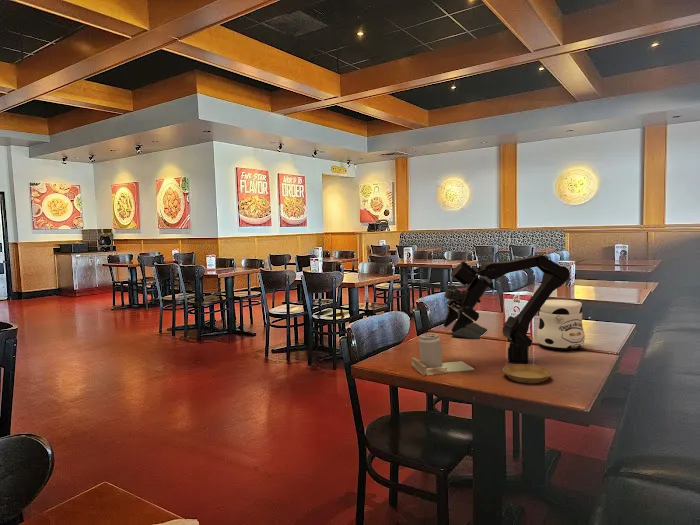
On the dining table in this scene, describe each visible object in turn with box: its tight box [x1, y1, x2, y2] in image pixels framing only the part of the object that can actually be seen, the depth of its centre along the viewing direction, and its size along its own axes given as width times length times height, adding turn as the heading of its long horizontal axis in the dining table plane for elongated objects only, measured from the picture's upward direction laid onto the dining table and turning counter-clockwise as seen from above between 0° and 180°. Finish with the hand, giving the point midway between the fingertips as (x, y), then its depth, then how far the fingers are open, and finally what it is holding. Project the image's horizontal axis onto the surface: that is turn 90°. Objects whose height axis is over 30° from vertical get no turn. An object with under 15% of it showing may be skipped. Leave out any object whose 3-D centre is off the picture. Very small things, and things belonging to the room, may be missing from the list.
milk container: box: [536, 299, 586, 351], centre depth 192 cm, size 17×17×18 cm
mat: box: [442, 360, 475, 373], centre depth 170 cm, size 10×10×1 cm
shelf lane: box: [411, 357, 448, 377], centre depth 168 cm, size 8×12×3 cm
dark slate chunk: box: [450, 322, 488, 340], centre depth 222 cm, size 15×22×5 cm
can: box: [418, 332, 443, 368], centre depth 168 cm, size 8×8×12 cm
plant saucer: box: [502, 363, 553, 384], centre depth 156 cm, size 15×15×3 cm
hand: (448, 328), depth 171 cm, fingers open, 9 cm apart
